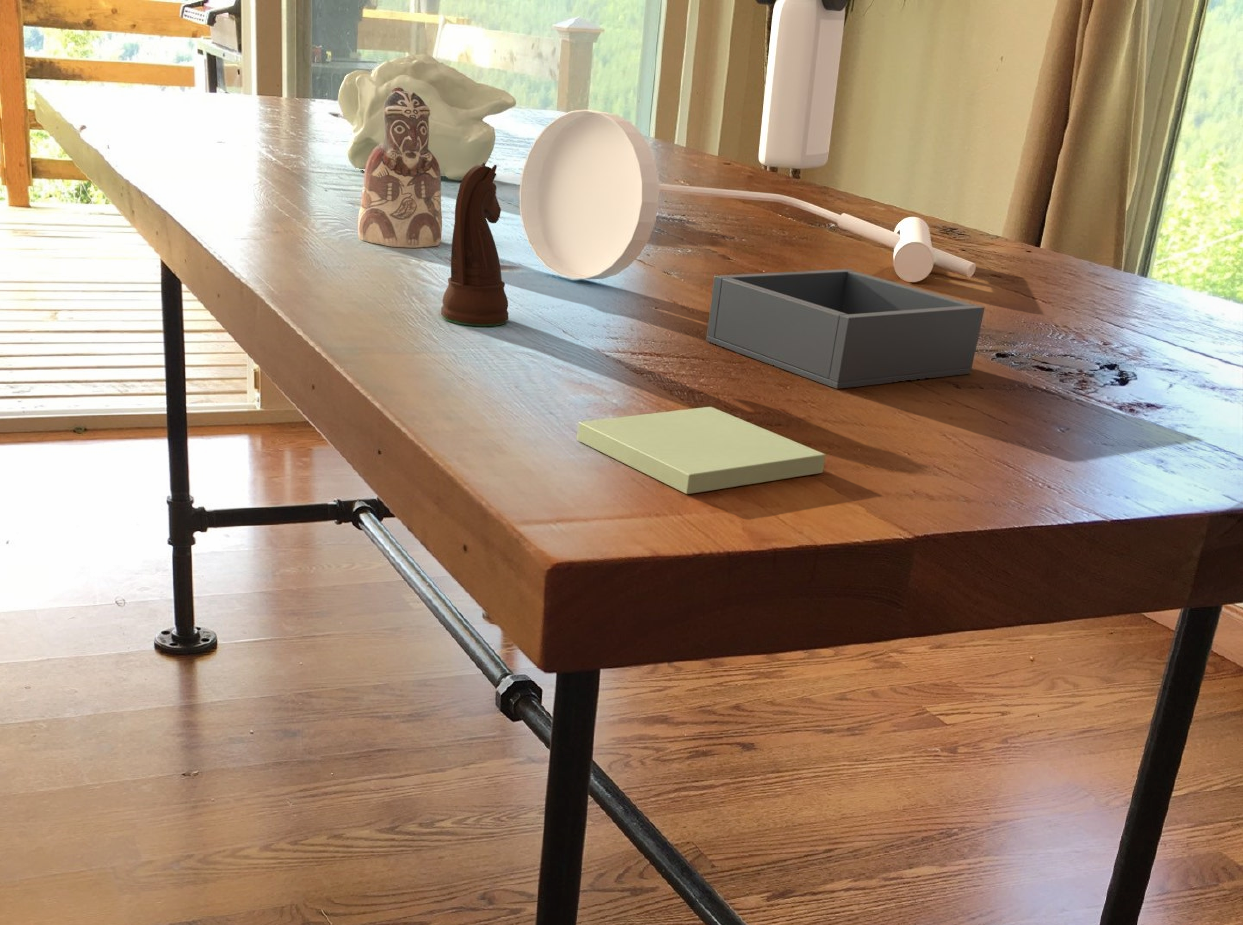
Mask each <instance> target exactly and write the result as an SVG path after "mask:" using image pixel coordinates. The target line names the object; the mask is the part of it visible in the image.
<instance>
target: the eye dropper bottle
mask: <svg viewBox="0 0 1243 925" xmlns="http://www.w3.org/2000/svg"><path fill="white" fill-rule="evenodd" d="M773 5H774V6H773V12H772V17H771V18H772V19H771V30H770V38H769V47H768V48H769V49H768V57H767V66H766V67H767V68H766V77H765V79H766V80H765V87H764V97H763V98H764V99H763V108H762V118H761V128H760V138H759V146H758V147H759V148H758V161H759V163H760V164H761V165H763V166H765V167H772V168H782V169H784V168H785V169H795V170H796V169H798V170H806V169H808V170H809V169H816V168H820V167H821V168H822V167H824V166H826V164H827V163H828V161H829V156H830V155H829V153H830V147H831V138H832V129H833V122H834V115H835V114H834V112H835V104H836V95H837V88H838V80H839V71H840V64H841V62H840V61H841V53H842V46H843V37H844V28H845V27H844V26H845V25H844V24H845V17H846V6H845V7H844V9H843V10H842V11H831V10H826V9H825V8H824V6H823V3H822V0H776V2H775V3H774V4H773Z"/></svg>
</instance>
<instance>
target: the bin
mask: <svg viewBox="0 0 1243 925" xmlns="http://www.w3.org/2000/svg"><path fill="white" fill-rule="evenodd" d="M711 291H712V292H711V299H710V307H709V316H708V324H707V331H706V338H705V342H707V341H709V342H708V343H710V342H711V343H710V344H712V343H713V344H712V345H715V344H716V345H715V346H718V347H721V348H723V347H724V349H726V350H729V351H731V352H735V353H738V354H740V355H743V356H745V357H748V358H751V359H753V360H756V361H759V362H762V363H765V364H767V365H770V366H773V365H774V366H773V367H776V368H777V369H782V370H784V371H786V372H789V373H791V374H794V375H797V376H800V377H803V378H806V379H808V380H811V381H813V382H816V383H819V384H822V385H825V386H827V387H830V388H832V389H835V390H840V389H849V388H859V387H866V386H876V384H877V385H884V384H885V385H886V384H893V383H892V382H894V383H899V382H898V381H903V382H906V381H905V380H911V381H918V380H917V379H920V380H926V379H925V378H929V379H937V378H947V377H954V376H963V375H971V373H972V368H973V365H974V360H975V355H976V352H977V347H978V341H979V337H980V331H981V327H982V323H983V318H984V314H985V308H986V307H985V306H981V305H978V304H975V303H971V302H967V301H963V300H959V299H956V298H953V297H949V296H945V295H942V294H938V293H934V292H931V291H927V290H923V289H921V288H916V287H913V286H910V285H906V284H903V283H898V282H895V281H891V280H888V279H884V278H881V277H877V276H874V275H870V274H866V273H863V272H859V271H857V270H852V269H848V268H841V269H840V268H839V269H819V270H818V269H817V270H800V271H799V270H798V271H782V272H780V271H779V272H763V273H762V272H761V273H742V274H723V275H720V274H719V275H714V277H713V284H712V290H711ZM895 381H896V382H895Z"/></svg>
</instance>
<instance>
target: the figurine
mask: <svg viewBox="0 0 1243 925" xmlns="http://www.w3.org/2000/svg"><path fill="white" fill-rule="evenodd" d="M429 115H430V109H429V108H428V107H427V106H426V104H425V103H424V101H423V100H422V99H421V98H420V97H419V96H418V95H416V94H415V93H414V92H410V91H404V90H403V89H402V88H400V87H396V88H394V89H392V93H391V94H390V95H389V96H388V98H387V99H386V101H385V103H384V106H383V121H384V142H383V143H381V144H379V145H378V146H376V147H375V149H374V150H373V151H372V153H371V154H370V156H369V158H368V160H367V163H366V167H365V171H363V172H364V173H363V174H364V176H363V185H362V193H361V201H360V205H359V211H358V217H357V225H358V226H357V232H358V238H359V240H361V241H363V242H368V243H371V244H376V245H381V246H386V247H392V248H411V249H416V248H417V249H418V248H429V247H438V246H440V245H441V242H442V233H443V232H442V231H443V214H442V189H441V188H442V186H441V185H442V179H441V178H442V177H441V176H442V175H440V168H439V164H438V162H437V160H436V158H435V157H434V156H433V154H432V153H431V152H430V150H428V141H429Z"/></svg>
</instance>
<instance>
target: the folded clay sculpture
mask: <svg viewBox="0 0 1243 925" xmlns="http://www.w3.org/2000/svg"><path fill="white" fill-rule="evenodd" d="M396 87H400V88H402V89H403V90H404V91H410V92H414V93H415V94H416V95H418V96H419V97H420V98H421V99H422V100H423V101H424V103H425V104H426V106H427V107H428V108H429V109H430V115H429V141H428V150H430V152H431V153H432V154H433V156H434V157H435V158H436V160H437V162H438V164H439V168H440V175H441V176H444V177H446V178H447V179H449V180H453V181H462V179H463V178H464V176H465V174H466V173H467V172H468V171H469V170H470V169H471V168H473V167H474V166H477V165H482V164H483V163H485V166H487V165H486V164H488V161H489V159H490V157H491V155H492V153H493V150H494V148H495V143H496V139H497V138H496V130H495V127H494V126H491V125H490V124H489V123H488V122H486V121H484V119H485V118H486V117H488V116H493V115H498V114H502V113H503V112H506V111H508V110H511V109H512V108H514V107H516V105H517V101H516V99H515V97H514V96H513V95H512V94H511V93H509V92H508V91H506V90H505V89H501V88H499V87H495V86H491V85H488V84H486V83H485V84H484V83H481V82H476V81H475V80H474V79H472V78H471V77H469V76H467V75H465V74H464V73H463V72H460V71H459V70H457V69H456V68H455V67H453V66H449V65H447V64H445V63H444V62H440V61H438V60H437V59H436V58H435V57H433V56H431V55H428V54H425V53H422V54H410V55H406V56H400V57H395V58H394V59H392V60H385V61H384V62H382V63H381V64H380V65H378V66H377V67H374V68H373V69H372V70H371V71H369V70H364V69H361V70H360V69H356V70H353V71H352V72H350V73H348V74H346V75H345V76H344V79H343V81H342V83H341V85H340V87H339V90H338V95H337V103H338V105H339V107H340V108H339V109H340V110H341V113H342V117H343V119H344V120H346V121H347V122H348V123H349V124H350V125H351V126H352V129H351V132H352V135H351V136H350V138H349V141H348V144H347V148H346V154H347V158H348V161H349V163H350V164H351V165H352V166H353V167H354V169H356V168H359V169H365V167H366V163H367V160H368V158H369V156H370V154H371V153H372V151H373V150H374V149H375V147H376V146H378V145H379V144H381V143H383V142H384V121H383V106H384V103H385V101H386V99H387V98H388V96H389V95H390V94H391V93H392V89H394V88H396Z"/></svg>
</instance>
